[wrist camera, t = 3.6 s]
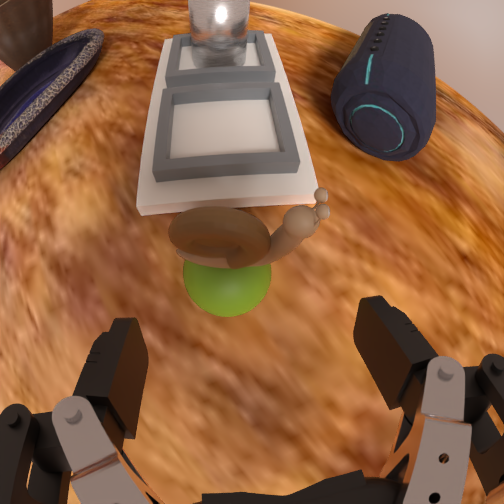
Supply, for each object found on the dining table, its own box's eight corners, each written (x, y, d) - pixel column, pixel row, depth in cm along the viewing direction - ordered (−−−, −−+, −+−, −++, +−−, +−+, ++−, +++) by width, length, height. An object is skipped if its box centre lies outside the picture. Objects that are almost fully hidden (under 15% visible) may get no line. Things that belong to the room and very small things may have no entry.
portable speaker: (359, 47, 34) (377, -3, 25) (417, 76, 33) (442, 29, 24) (308, 143, 26) (336, 57, 17) (402, 190, 25) (458, 123, 15)
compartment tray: (141, 215, 22) (130, 196, 19) (166, 47, 31) (163, 30, 28) (315, 203, 23) (325, 183, 21) (270, 42, 32) (272, 25, 29)
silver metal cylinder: (191, 74, 26) (185, 3, 18) (193, 49, 28) (189, -13, 20) (248, 71, 27) (253, 0, 19) (243, 46, 29) (247, -16, 21)
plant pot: (86, 33, 34) (68, -36, 19) (32, 85, 29) (-4, 9, 14) (37, 42, 34) (17, -13, 19) (-10, 91, 29) (-43, 33, 14)
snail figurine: (280, 322, 20) (339, 277, 9) (187, 319, 20) (130, 270, 8) (279, 249, 22) (323, 140, 11) (192, 246, 22) (157, 134, 10)
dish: (137, 51, 31) (131, 23, 26) (-22, 233, 21) (-49, 213, 16) (75, 46, 33) (67, 24, 28) (-53, 189, 22) (-72, 172, 18)
